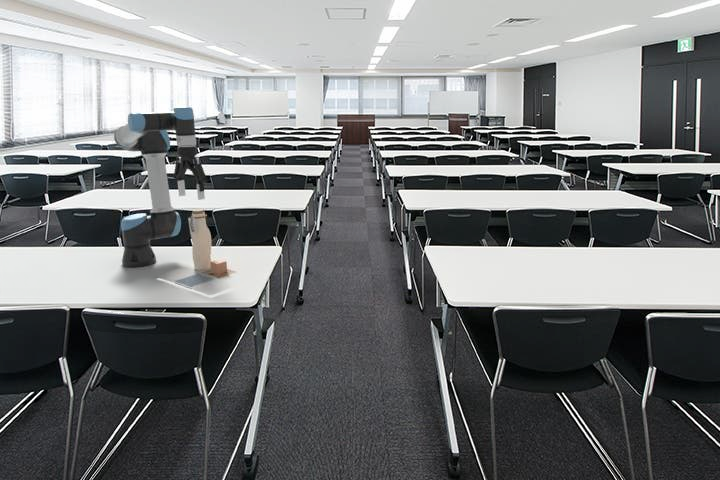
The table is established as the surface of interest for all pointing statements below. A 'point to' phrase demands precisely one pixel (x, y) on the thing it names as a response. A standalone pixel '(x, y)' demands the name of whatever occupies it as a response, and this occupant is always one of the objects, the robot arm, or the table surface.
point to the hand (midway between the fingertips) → (191, 197)
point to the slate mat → (193, 280)
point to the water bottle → (200, 239)
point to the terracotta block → (218, 266)
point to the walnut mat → (219, 274)
